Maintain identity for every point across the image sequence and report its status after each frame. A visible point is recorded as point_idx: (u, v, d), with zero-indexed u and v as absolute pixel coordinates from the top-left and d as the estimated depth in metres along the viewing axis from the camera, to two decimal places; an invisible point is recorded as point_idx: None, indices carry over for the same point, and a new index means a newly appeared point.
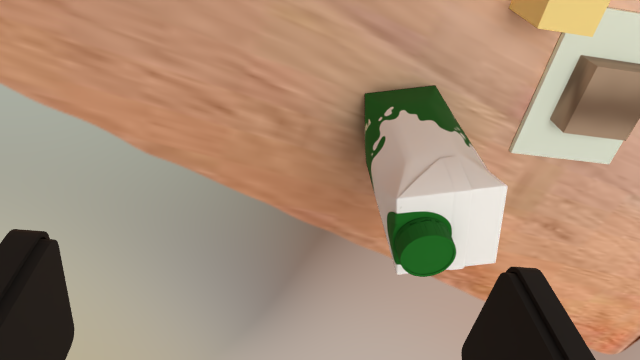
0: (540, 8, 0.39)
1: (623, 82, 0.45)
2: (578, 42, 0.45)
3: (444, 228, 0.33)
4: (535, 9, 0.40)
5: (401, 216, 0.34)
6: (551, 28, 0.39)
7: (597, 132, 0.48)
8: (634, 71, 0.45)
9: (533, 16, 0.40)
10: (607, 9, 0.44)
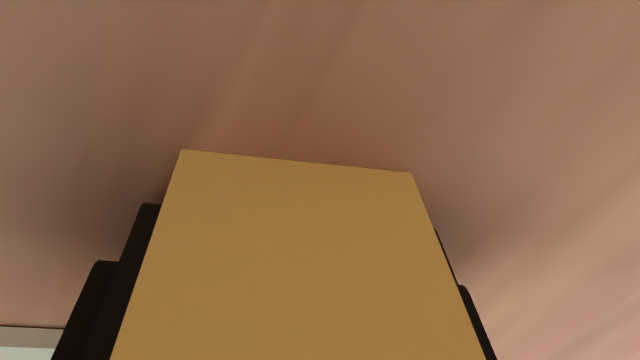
0: None
1: None
2: None
3: None
4: (207, 331, 0.06)
5: None
6: None
7: None
8: None
9: (165, 339, 0.06)
10: None
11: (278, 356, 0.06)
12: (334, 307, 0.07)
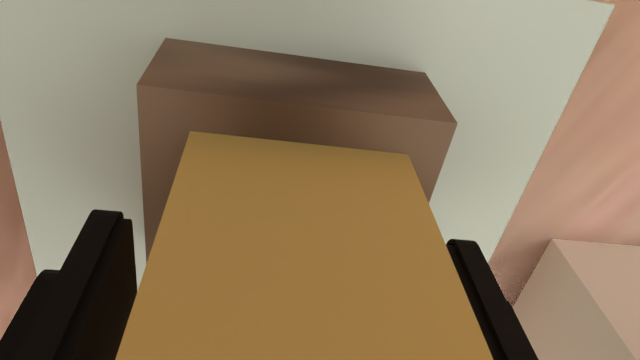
0: (234, 334, 0.06)
1: None
2: (474, 47, 0.13)
3: None
4: (219, 289, 0.07)
5: None
6: None
7: None
8: None
9: (180, 294, 0.07)
10: (562, 105, 0.14)
11: (284, 311, 0.07)
12: (335, 270, 0.08)
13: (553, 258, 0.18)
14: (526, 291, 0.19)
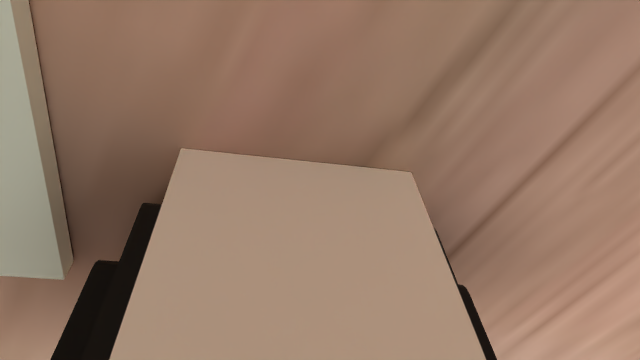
0: None
1: None
2: None
3: None
4: None
5: None
6: None
7: None
8: None
9: None
10: None
11: None
12: None
13: None
14: None
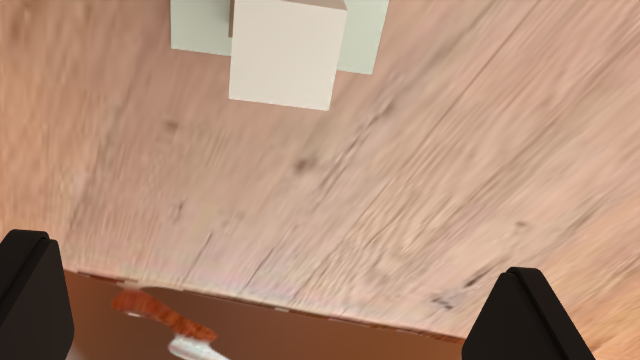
0: None
1: None
2: None
3: None
4: None
5: None
6: None
7: None
8: None
9: None
10: None
11: None
12: None
13: None
14: None
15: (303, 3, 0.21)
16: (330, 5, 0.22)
